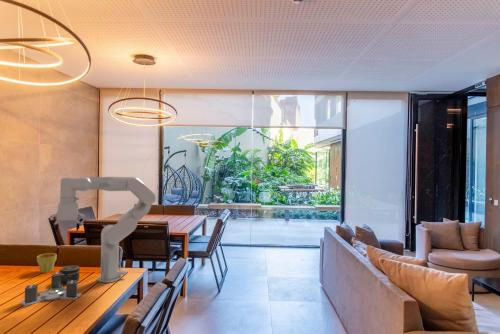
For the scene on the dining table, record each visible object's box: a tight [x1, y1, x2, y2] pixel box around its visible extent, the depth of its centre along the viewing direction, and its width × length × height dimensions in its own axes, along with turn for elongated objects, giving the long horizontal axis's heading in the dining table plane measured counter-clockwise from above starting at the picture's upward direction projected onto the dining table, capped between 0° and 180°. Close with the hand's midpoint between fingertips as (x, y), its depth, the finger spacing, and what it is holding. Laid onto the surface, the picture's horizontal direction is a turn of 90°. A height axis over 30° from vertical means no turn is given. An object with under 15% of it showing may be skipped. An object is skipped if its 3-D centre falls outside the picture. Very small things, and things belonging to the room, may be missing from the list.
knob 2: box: [50, 271, 62, 289], centre depth 172 cm, size 5×4×7 cm
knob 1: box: [24, 284, 39, 302], centre depth 154 cm, size 5×4×7 cm
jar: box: [59, 265, 81, 285], centre depth 183 cm, size 10×10×8 cm
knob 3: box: [65, 280, 79, 297], centre depth 161 cm, size 5×4×7 cm
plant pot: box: [36, 252, 58, 274], centre depth 199 cm, size 10×10×10 cm
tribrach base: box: [20, 284, 83, 307], centre depth 164 cm, size 26×22×3 cm
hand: (67, 230), depth 176 cm, fingers open, 9 cm apart
